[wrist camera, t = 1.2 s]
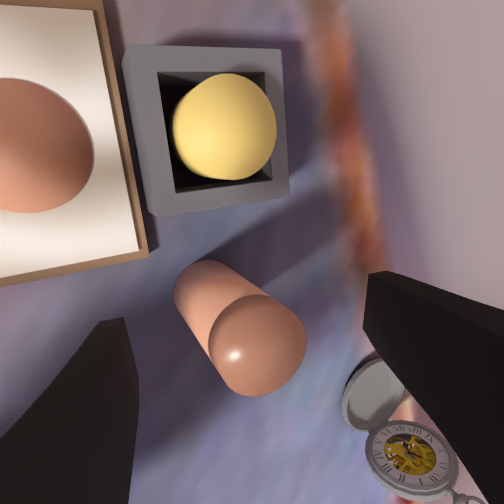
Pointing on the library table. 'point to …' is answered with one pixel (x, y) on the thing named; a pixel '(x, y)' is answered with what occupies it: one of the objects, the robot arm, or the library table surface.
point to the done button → (223, 128)
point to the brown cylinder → (240, 327)
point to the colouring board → (62, 145)
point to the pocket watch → (399, 439)
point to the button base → (154, 132)
